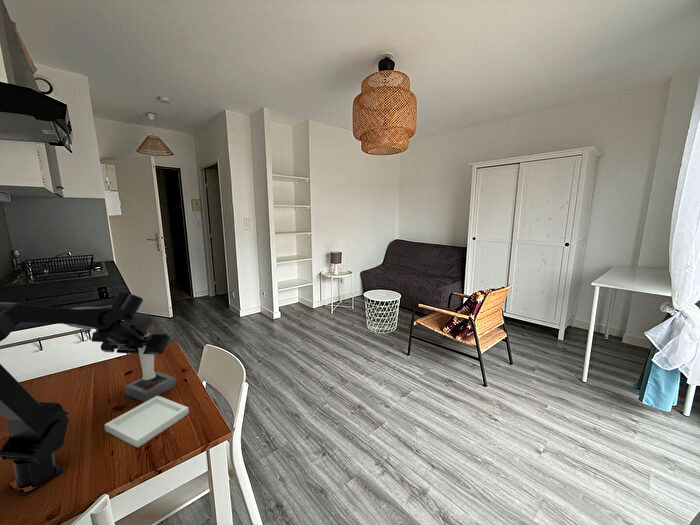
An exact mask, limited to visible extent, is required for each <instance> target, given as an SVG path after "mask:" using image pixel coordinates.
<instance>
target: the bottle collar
mask: <svg viewBox="0 0 700 525" xmlns="http://www.w3.org/2000/svg"><path fill="white" fill-rule="evenodd" d="M154 372H155V374H156V375H155V378H152V379H149V380H143V379H142V377H141V378H138V379H136V380H135V381H131V383H130V382H129V383H128V384H126V385H124V391H125V395H127V396H129V397H131V398H134V399H136V400H138V401H140V402H142V403H145V402H146V401H148V400H150V399H152V398H154V397H155V396H157V395H158V396H160V395H162V394H163V393H165V392H167V391H168V390H170V389H172V388H174V387H176V377H174V376H171V375H168V374H165V373H163V372H160V371H154ZM154 383H157V384H155V385H153V386H151V385H152V384H154ZM149 386H151V387H149ZM147 387H149V388H147ZM145 388H147V389H145Z"/></svg>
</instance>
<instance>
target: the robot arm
mask: <svg viewBox="0 0 700 525" xmlns="http://www.w3.org/2000/svg"><path fill="white" fill-rule="evenodd" d="M143 301H144V300H143V298H142V297H141V296H137V295H135V294H132V293H129V292H128V291H120V292H119V294H117V297H116V299H115V301H114V302H113V304H112V305H111V307H105V306H103V307H102V306H101V307H100V306H99V307H98V306H79V307H72V308H65V307H58V306H57V307H53V306H44V305H32V304H25V303H21V302H7V301H5V302H1V301H0V342H2V341H3V340H5V339H7V338H8V336H9V335H10V334H11V332H13V330H14V329H15V327H17V326H18V325H19V324H21V323H30V324H32V323H33V324H37V323H38V324H57V325H58V324H61V325H66V326H68V327H72V328H77V329H85V330H95V331H93V332H92V336H91V342H94V343H101V344H100V350H101V351H103V352H104V353H115V350H116V353H117V354H139V350H138V348H143V347H144V346H145V348H146V349H145V351H144V353H143V354H154V355H162V354H163V353H164V351H165V349H166V346H167V345H168V342H169V341H170V338H171V336H170V335H169V334H168V333H167V332H155V333H152V334H149V336H148V337H144V335H146V334H147V333H148V331H147V329H149V327H150V326H151V325H153V323H154V320H153V318H152V316H151V314H150V313H137V312H138V310H139V309H140V307H141V305H142V304H143ZM69 414H70V412H68V411H66V410H64V408H63V406H62V405H61V404H60V403H59V402H51V401H50V402H48V401H38V400H37V399H36V398H35V397H34V396H33V395H32V394H31V393H30V392H29V391H28V390H27V389H26V388H25V387H24V386H23V385H22V384H21V383H20V382H19V381H18V380H17V379H16V378H15V377H14V376H13V375H12V374H11V373H10V372H9V371H8V370H7V369H6V368H5V367H4V366H3V365H2V364H1V363H0V415H1V416H2V417H4V418H5V420H7V427H6V428H7V429H6V431H7V433H8V434H9V436H8V438H7V440H6V441H5V442H4V444H3V445H2V447H1V448H0V460H2V461H6V460H7V461H12V463H13V469H14V476H15V479H16V482H17V486H18V487H19V488H21V489H22V488H25V487H29V486H32V487H33V488H34V487H37V486H39V487H40V486H42V485H44V484H45V483H47V482H49V481H50V480H52V479H54V478H55V477H56V476H58V475H60V474H61V473H63V472H64V471H65V469H64V467H62V465H61V466H60V465H59V464H58V463H56V458H55V452H56V451H58V450H59V449H60V448H62V447H63V446H64V442H65V438H66V435H67V434H66V433H67V430H68V426H69V425H68V424H69V423H70V419H69V417H68V415H69ZM43 483H44V484H43ZM41 484H42V485H41ZM18 487H17V488H18ZM17 488H16V490H17V491H18V492H20V493H21V494H22V495H21V494H20V495H21V496H25V495H24V494H25V493H27V492H28V491H27V492H24V490H23V489H22V490H20V489H19V488H18V489H19V490H18V489H17ZM37 488H38V487H37ZM16 490H15V491H16ZM17 491H16V492H17ZM18 492H17V493H18ZM23 492H24V493H23ZM27 494H28V493H27Z"/></svg>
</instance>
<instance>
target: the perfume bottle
mask: <svg viewBox="0 0 700 525" xmlns="http://www.w3.org/2000/svg"><path fill="white" fill-rule="evenodd" d="M149 335H151V334H150V332H147V334H146V335H144V337H148V336H149ZM145 349H146V348H145V346H144V347H143V348H138V350H139V353H138V355H139V361H140V366H141V372H142V375H141V376H142V377H141V378H142V379H143V380H149V379H152V378H155V375H156V374H155V372H156V371H155V354H143V353H144V351H145Z"/></svg>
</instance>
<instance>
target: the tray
mask: <svg viewBox="0 0 700 525" xmlns="http://www.w3.org/2000/svg"><path fill="white" fill-rule="evenodd" d="M189 412H190V411H189V407H188V406H185V405H183V404H180V403H178V402H175V401H172V400H170V399H169V398H165V397H163V396H160V395H157V396H155V397H154V398H152V399H150V400H148V401H146V402H142V403H141V404H139V405H138V406H135V407H133V408H132V409H129V411H126V412H125V413H122V414H121V415H119V416H117V417H116V418H113V419H112V420H110V421H109V422H108V421H107V422H106V423H104V431H105V432H107V433H108V434H110V435H112V436H114V437H116V438H118V439H120V440H121V441H124V442H125V443H127V444H129V445H131V446H132V447H135V448H137V449H138V448H140V447H142V446H143V445H145V444H146V443H148V442H150V440H152V439H154V438H155V437H156V436H158V435H160V434H161V433H163V432H164V431H165V430H167V429H168V428H170V427H171V426H173V425H174V424H176V423H177V422H179V421H180V420H181V419H183V418H185V417H186V416H188V415H189V414H190V413H189Z"/></svg>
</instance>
